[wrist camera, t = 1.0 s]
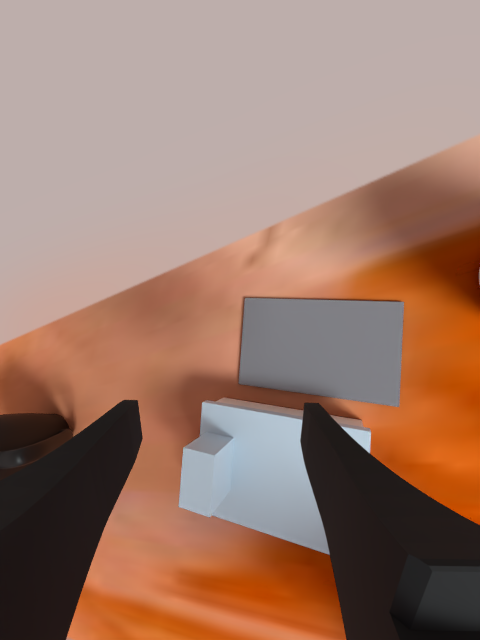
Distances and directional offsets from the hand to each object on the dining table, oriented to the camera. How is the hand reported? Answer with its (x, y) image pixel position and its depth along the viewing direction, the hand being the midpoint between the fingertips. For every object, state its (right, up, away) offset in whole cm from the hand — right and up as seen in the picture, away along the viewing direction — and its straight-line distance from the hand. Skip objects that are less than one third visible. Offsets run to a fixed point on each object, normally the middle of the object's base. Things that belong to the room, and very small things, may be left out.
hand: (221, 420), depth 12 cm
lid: (+4, -7, +9) cm, 12 cm away
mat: (+7, +2, +12) cm, 14 cm away
